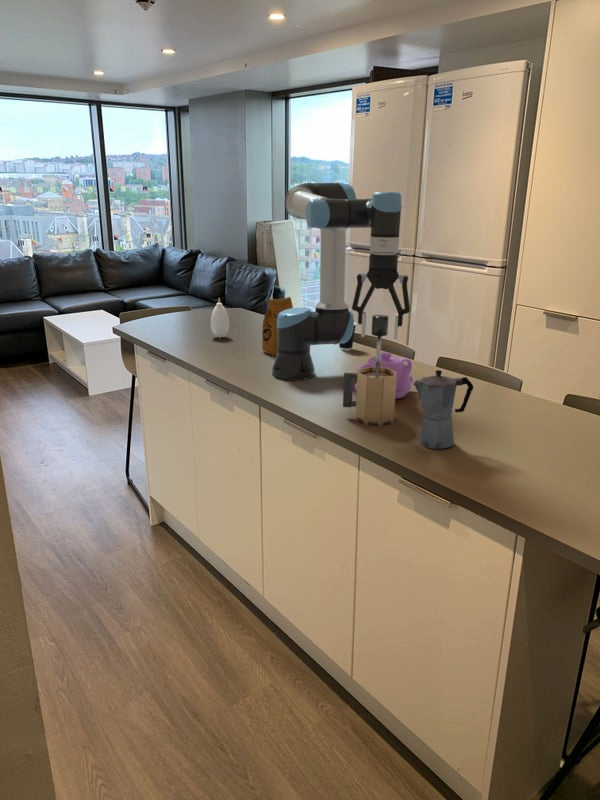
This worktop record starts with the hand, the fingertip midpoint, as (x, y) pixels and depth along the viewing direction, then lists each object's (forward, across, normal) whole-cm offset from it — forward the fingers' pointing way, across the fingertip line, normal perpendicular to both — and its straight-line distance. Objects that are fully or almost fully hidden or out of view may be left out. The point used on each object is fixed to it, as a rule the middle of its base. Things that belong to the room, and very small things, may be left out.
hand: (379, 336), depth 168 cm
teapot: (+25, +2, +21) cm, 32 cm away
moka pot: (+25, +18, -14) cm, 33 cm away
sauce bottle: (+25, -77, +83) cm, 116 cm away
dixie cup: (+25, -20, +77) cm, 83 cm away
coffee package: (+25, -46, +66) cm, 84 cm away
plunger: (+12, 0, 0) cm, 12 cm away
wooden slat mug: (+24, -2, 0) cm, 24 cm away
